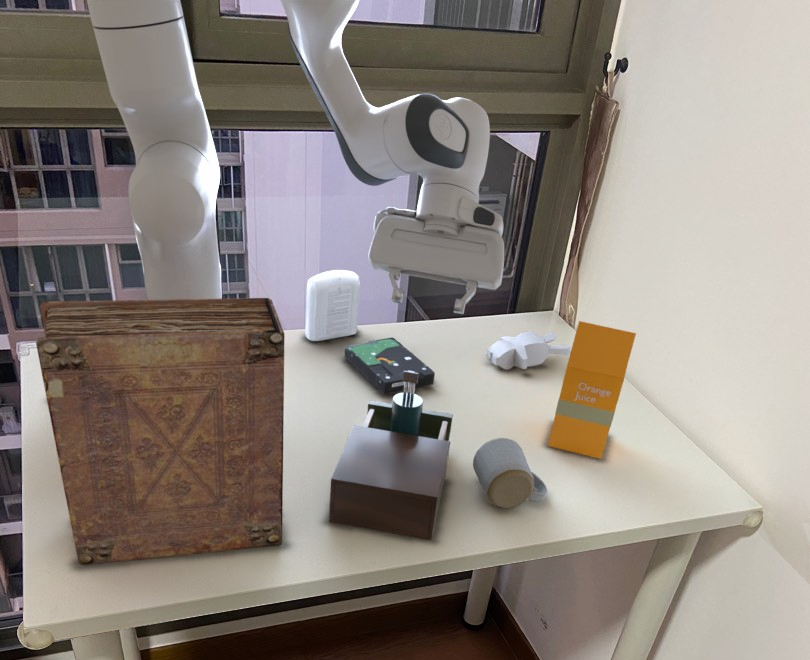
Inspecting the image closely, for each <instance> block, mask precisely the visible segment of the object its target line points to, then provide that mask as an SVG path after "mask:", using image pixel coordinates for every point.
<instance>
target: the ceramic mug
mask: <svg viewBox="0 0 810 660" xmlns="http://www.w3.org/2000/svg"><path fill="white" fill-rule="evenodd" d="M472 467H473V471H474V473H475V475H476V478H477V480H478V482H479V484H480V486H481V488H482V491H483V493H484V496H485V498H487V500H488V501H489V502H490V503H491V504H492V505H493V506H495V507H498V508H500V509H513V508H516V507H519V506H521V505H523V504H524V503H526V501H528V500H529V501H532V502H538V503H539V502H541V501H542V500H543V499H544V498H545V496H546V495H548V488H547V485H546V484H545V482H544V481H543V480H542V479H541V477H540V476H538V475H537V474H536V473H534V472H533V471H532V470H531V468H530V466H529V463H528V460H527V458H526V456H525V453H524V451H523V449H522V447H521V446H520V444H519V443H518V442H517V441H515V440H513V439H511V438H507V437H498V438H494V439H491V440H488V441H487V442H485V443H483V444H482V445H481V446H480V447H479V448H478V449H477V450H476V452H475V454H474V457H473V459H472ZM534 489H536V490H537V491H535V490H534Z"/></svg>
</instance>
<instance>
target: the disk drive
mask: <svg viewBox="0 0 810 660" xmlns="http://www.w3.org/2000/svg"><path fill="white" fill-rule="evenodd" d="M344 359H346V361H347V362H349V364H351V366H353V367H354V368H355V369H356V370H357V371H358V372H359V373H360V374H362V376H363V377H364V378H366V379H367V380H368V381H369V382H370V383H371V384H372V385H373V386H374V387H375V388H376V389H377V390H378V391H379V392H381V393H382V394H383V395H389V394H395V393H396V394H397V393H402V392H404V383H405V382H403V374H404V371H414V372H415V373H419V374H418V382H417V384H415V389H419V388H420V389H421V388H424V387H425V388H426V387H429V386H433V385H434V382H435V375H436V372H435V371H434V370H433V369H432V368H431V367H429V366H428V365H427V364H426V363H425V362H423V361H422V360H421V359H419V357H418V356H416V355H415V354H413V352H412V351H410V350H409V349H408V348H407V347H405V346H404V345H403V344H402V343H401V342H399V341H398V340H397V339H396V338H394V337H386V338H381V339H376V340H369V341H368V342H363V343H359V344H352V345H351V344H348V345H347V347H346V348H344ZM408 384H409V382H408ZM408 384H407V391H408ZM411 390H412V385H411Z"/></svg>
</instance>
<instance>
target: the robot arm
mask: <svg viewBox="0 0 810 660" xmlns="http://www.w3.org/2000/svg"><path fill="white" fill-rule="evenodd" d="M280 2H281V4H282V7H283V9H284V11H285V15H286V18H287V34H288V37H289V41H290V44H291V46H292V49H293V51H294V54H295V56H296V58H297V60H298V62H299V65H300V66H301V69H302V70H303V73H304V75H305V76H306V78H307V80H308V82H309V85H310V86H311V88H312V90H313V92H314V94H315V96H316V99H317V100H318V101H319V103H320V105H321V107H322V109H323V112H324V113H325V116H326V117H327V120H328V121H329V123H330V125H331V127H332V129H333V131H334V134H335V137H336V140H337V142H338V145H339V148H340V152H341V155H342V158H343V161H344V163H345V165H346V167H347V168H348V170H349V171H350V173H351V174H352V175H353V176H354V177H355V178H356V179H357V180H358V181H360V182H361V183H363V184H365V185H367V186H373V187H377V186H381V185H383V184H386V183H389V182H391V181H394V180H396V179H398V178H402V177H405V176H410V175H415V174H416V175H418V176H419V177H421V179H422V184H421V188H420V192H419V196H418V202H417V208H416V210H412V209H405V208H404V209H403V208H402V209H401V208H396V207H393V206H388V207H386V208H383V209H381V210H379V211H378V212H377V213H376V215H375V217H374V222H373V232H374V234H373V238H372V240H371V243H370V247H369V250H368V255H367V256H368V262H369V263H370V265H371V267H372V269H374V270H376V271H382V272H386V273H388V277H389V280H390V283H391V287H392V294H391V302H392V303H395V304H401V305H402V304H403V301H404V300H403V298H404V296H405V292H404V289H403V288H399V287H398V285H397V281H400V279H401V275H405V276H411V277H415V278H416V277H417V278H422V279H428V280H434V281H438V282H439V281H440V282H446V283H451V284H456V285H464V286H465V290H466V291H465V292H466V293H465V294H464V295H463V296H462V297H461V298H455V300H454V301H455V302H454V306H453V313H454V314H459V315H464V314H465V309H466V304H468V303H469V302H470V301H471V300H472V298H473V297H474V296H475V295H476V291H477V288H480V289H485V290H486V289H487V290H490V291H491V290H492V291H495V290H498V289H499V288H500V286H502V282H503V277H504V276H503V275H504V266H505V242H504V238H503V233H504V219H503V217H502V215H500V214H499V213H498V212H496V211H493V210H492V209H490V208H489V207H486V206H484V205H482V204H480V192H479V191H480V184H481V182H482V180H483V179H484V176H485V172H486V167H487V163H488V156H489V150H490V149H489V148H490V140H491V127H490V119H489V115H488V114H487V111H486V110H485V109H484V108H483V107H482V106H481V105H479V104H478V102H475V101H473V100H471V99H468V98H464V97H452V98H449V99H447V100H444V99H441V98H440V97H439V96H437V95H435V94H433V93H427V92H425V93H419V94H415V95H411V96H408V97H406V98H402V99H399V100H397V101H395V102H392V103H390V104H386V105H384V106H380V107H376V106H373V105H372V104H370V103H369V102H368V101H367V100H366V98H365V96H364V95H363V92H362V91H361V88H360V86H359V84H358V81H357V80H356V78H355V75H354V73H353V71H352V69H351V67H350V65H349V63H348V61H347V59H346V56H345V54H344V51H343V50H344V49H343V47H342V35H343V32H344V29H345V27H346V25H347V24H348V22H349V21H350V19H351V17H352V16H353V14H354V12H355V11H356V9H357V7H358V5H359V2H360V0H280ZM86 3H87V8H88V12H89V16H90V22H91V24H92V27H93V28H92V29H93V32H94V37H95V39H96V40H95V41H96V44H97V48H98V51H99V55H100V59H101V63H102V67H103V71H104V74H105V78H106V83H107V85H108V89H109V94H110V97H111V99H112V101H113V102H114V105H116V108H117V109H118V112H119V114H120V116H121V119H122V121H123V124H124V126H125V129H126V132H127V133H128V137H129V139H130V143H131V145H132V148H133V152H134V156H135V167H134V169H133V171H132V172H131V175H130V178H129V181H128V185H127V186H128V187H127V193H128V194H127V195H128V197H127V198H128V205H129V206H128V207H129V210H130V214H131V218H132V224H133V229H134V234H135V239H136V243H137V248H138V251H139V255H140V260H141V265H142V272H143V281H144V291H145V300H172V299H223V289H222V267H221V261H220V253H219V244H218V234H217V221H216V207H217V206H216V205H217V196H218V191H219V186H220V180H221V169H220V166H219V159H218V155H217V151H216V146H215V143H214V140H213V139H214V138H213V136H212V135H213V134H212V130H211V128H210V124H209V120H208V116H207V113H206V108H205V106H204V103H203V99H202V96H201V93H200V88H199V84H198V79H197V76H196V71H195V66H194V61H193V55H192V50H191V45H190V40H189V36H188V31H187V27H186V22H185V16H184V11H183V7H182V2H181V0H86Z"/></svg>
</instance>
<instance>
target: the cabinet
mask: <svg viewBox="0 0 810 660" xmlns="http://www.w3.org/2000/svg"><path fill="white" fill-rule="evenodd" d="M450 447H451V441H450V440H449V441H444V440H438V439H433V438H427V437H421V436H415V435H409V434H403V433H397V432H391V431H385V430H379V429H374V428H368V427H363V425H362V426H361V425H355V424H354V425H352V428H351V430H350V433H349V435H348V437H347V440H346V442H345V444H344V447H343V449H342V451H341V455H340V457H339V458H338V462H337V464H336V466H335V469H334V470H333V473H332V476H331V478H330V493H329V495H330V496H329V513H328V523H332V524H338V525H343V526H349V527H354V528H355V527H356V528H361V529H366V530H372V531H377V532H383V533H389V534H395V535H399V536H405V537H410V538H417V539H421V540H422V539H423V540H427V541H432V539H433V535H434V530H435V526H436V522H437V517H438V511H439V508H440V504H441V498H442V495H443V490H444V485H445V482H446V481H445V480H446V474H447V467H448V460H449V456H450V455H449V454H450Z"/></svg>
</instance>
